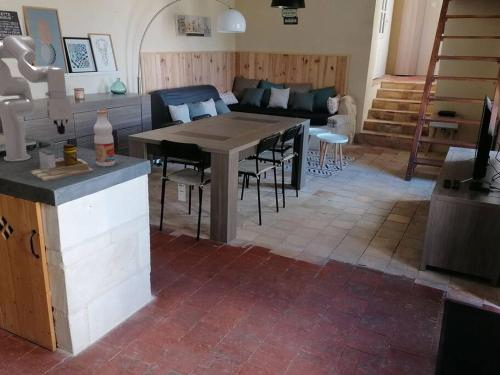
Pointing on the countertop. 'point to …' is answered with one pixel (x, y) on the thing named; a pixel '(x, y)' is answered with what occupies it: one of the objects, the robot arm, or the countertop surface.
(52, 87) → the robot arm
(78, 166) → the wooden tray
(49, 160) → the grey flat block
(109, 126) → the fruit juice
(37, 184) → the countertop surface
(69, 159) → the condiment
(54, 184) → the countertop surface
